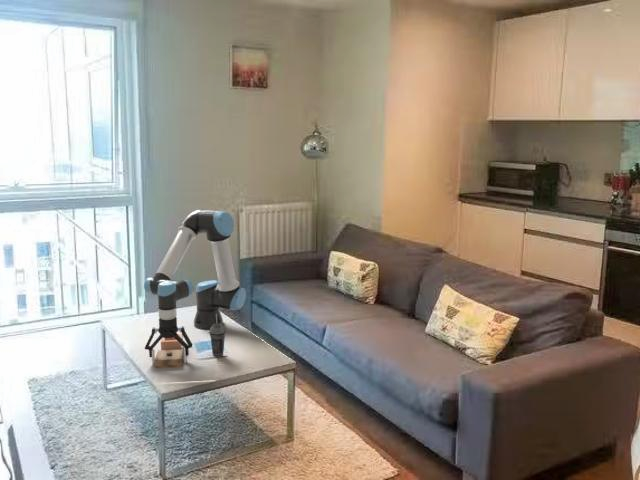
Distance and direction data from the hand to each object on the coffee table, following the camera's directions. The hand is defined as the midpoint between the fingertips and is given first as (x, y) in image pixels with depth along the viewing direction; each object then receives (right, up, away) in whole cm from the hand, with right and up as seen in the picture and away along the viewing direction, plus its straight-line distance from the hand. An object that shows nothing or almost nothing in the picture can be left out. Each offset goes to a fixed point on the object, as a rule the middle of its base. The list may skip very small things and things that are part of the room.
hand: (169, 363), depth 260 cm
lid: (0, 0, 0) cm, 1 cm away
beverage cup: (+20, +1, +9) cm, 22 cm away
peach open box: (-2, +2, +13) cm, 13 cm away
